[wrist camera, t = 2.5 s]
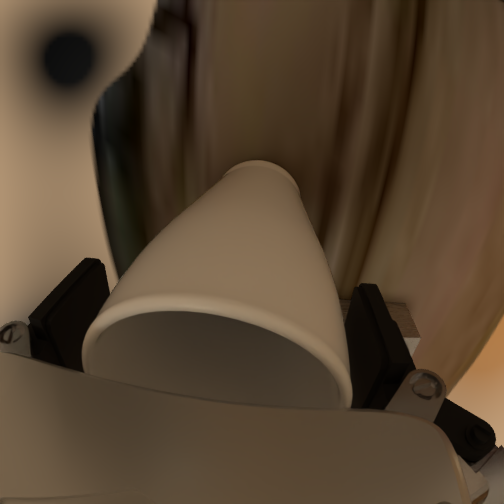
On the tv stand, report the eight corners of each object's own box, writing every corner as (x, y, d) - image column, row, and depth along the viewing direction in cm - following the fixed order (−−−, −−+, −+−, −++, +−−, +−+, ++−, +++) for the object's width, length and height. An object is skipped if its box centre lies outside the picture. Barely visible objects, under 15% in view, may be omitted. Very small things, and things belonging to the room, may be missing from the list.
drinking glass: (201, 148, 19) (34, 284, 5) (313, 146, 18) (390, 298, 5) (210, 247, 22) (126, 448, 9) (310, 248, 21) (331, 469, 8)
